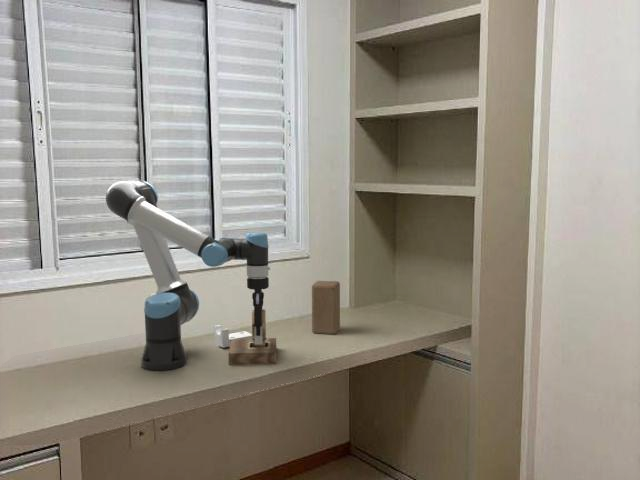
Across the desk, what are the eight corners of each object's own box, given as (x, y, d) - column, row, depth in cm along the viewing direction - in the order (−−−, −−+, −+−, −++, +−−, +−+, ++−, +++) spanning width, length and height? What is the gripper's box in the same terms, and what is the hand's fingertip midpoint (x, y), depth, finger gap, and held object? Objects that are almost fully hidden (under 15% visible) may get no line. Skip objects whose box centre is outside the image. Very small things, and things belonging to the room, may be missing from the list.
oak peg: (251, 351, 218) (251, 312, 216) (252, 347, 223) (251, 309, 221) (266, 351, 218) (265, 312, 216) (266, 347, 223) (265, 308, 221)
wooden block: (336, 334, 248) (335, 285, 246) (311, 333, 250) (311, 284, 248) (340, 328, 258) (340, 280, 256) (316, 327, 260) (316, 280, 258)
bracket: (222, 350, 230) (222, 330, 229) (214, 345, 235) (214, 325, 234) (253, 344, 237) (253, 324, 236) (245, 340, 243) (244, 321, 242)
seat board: (228, 364, 211) (228, 353, 211) (232, 349, 229) (232, 338, 229) (275, 363, 212) (275, 352, 212) (276, 348, 230) (276, 337, 230)
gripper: (268, 281, 209) (269, 349, 211) (269, 272, 227) (270, 334, 229) (245, 281, 208) (246, 349, 211) (248, 272, 226) (249, 335, 229)
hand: (258, 341), depth 220 cm, fingers closed on oak peg, 5 cm apart
